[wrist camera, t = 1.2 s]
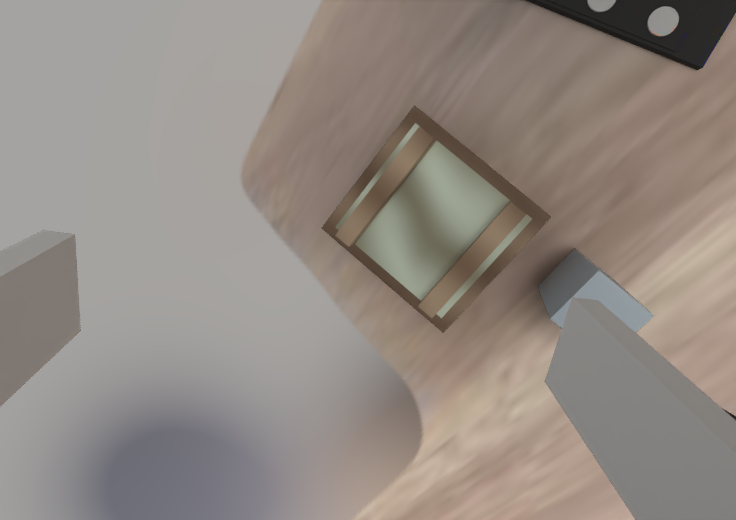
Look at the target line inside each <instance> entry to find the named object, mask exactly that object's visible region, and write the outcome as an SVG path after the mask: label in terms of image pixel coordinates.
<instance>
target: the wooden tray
mask: <svg viewBox="0 0 736 520" xmlns="http://www.w3.org/2000/svg"><path fill="white" fill-rule="evenodd" d="M550 218H551V216H550V215H548V214H547V213H546V212H545V211H543V210H542V209H541V208H540V207H539V206H537V205H536V204H535V203H534V202H532V201H531V200H530V199H529V198H527V197H526V196H525V195H524V194H523V193H521V192H520V191H519V190H518V189H516V188H515V187H514V186H513V185H512V184H510V183H509V182H508V181H507V180H505V179H504V178H503V177H502V176H500V175H499V174H498V173H497V172H496V171H494V170H493V169H492V168H491V167H489V166H488V165H487V164H486V163H485V162H483V161H482V160H481V159H480V158H478V157H477V156H476V155H475V154H473V153H472V152H471V151H470V150H469V149H467V148H466V147H465V146H464V145H462V144H461V143H460V142H459V141H458V140H456V139H455V138H454V137H453V136H451V135H450V134H449V133H448V132H446V131H445V130H444V129H443V128H442V127H440V126H439V125H438V124H437V123H435V122H434V121H433V120H432V119H431V118H429V117H428V116H427V115H426V114H424V113H423V112H422V111H421V110H419V109H418V108H417V107H416V106H415V105H414V107H413V108H412V109H411V111H410V112H409V113H408V115H407V116H406V117H405V119H404V120H403V121H402V123H401V124H400V125H399V127H398V128H397V129H396V130H395V132H394V133H393V134H392V136H391V137H390V138H389V140H388V141H387V142H386V144H385V145H384V146H383V148H382V149H381V150H380V152H379V153H378V154H377V156H376V157H375V158H374V159H373V161H372V162H371V163H370V165H369V166H368V167H367V169H366V170H365V171H364V173H363V174H362V175H361V177H360V178H359V179H358V181H357V182H356V183H355V185H354V186H353V187H352V188H351V190H350V191H349V192H348V194H347V195H346V196H345V198H344V199H343V200H342V202H341V203H340V204H339V206H338V207H337V208H336V210H335V211H334V212H333V214H332V215H331V216H330V217H329V219H328V220H327V221H326V223H325V224H324V225H323V227H322V229H323V230H324V231H325V232H327V233H328V234H329V235H330V236H331V237H332V238H334V239H335V240H336V241H337V242H338V243H339V244H341V245H342V246H343V247H344V248H345V249H346V250H348V251H349V252H350V253H351V254H352V255H353V256H354V257H356V258H357V259H358V260H359V261H360V262H361V263H363V264H364V265H365V266H366V267H367V268H368V269H370V270H371V271H372V272H373V273H374V274H375V275H377V276H378V277H379V278H380V279H381V280H382V281H384V282H385V283H386V284H387V285H388V286H389V287H391V288H392V289H393V290H394V291H395V292H396V293H398V294H399V295H400V296H401V297H402V298H403V299H404V300H406V301H407V302H408V303H409V304H410V305H411V306H413V307H414V308H415V309H416V310H417V311H418V312H420V313H421V314H422V315H423V316H424V317H425V318H427V319H428V320H429V321H430V322H431V323H432V324H434V325H435V326H436V327H437V328H438V329H439V330H441V331H442V332H443V333H444V332H445V330H446V329H447V328H448V327H449V326H450V325H451V324H452V323H453V322H454V321H455V320H456V319H457V318H458V316H459V315H460V314H461V313H462V312H463V311H464V310H465V309H466V308H467V307H468V306H469V305H470V304H471V302H472V301H473V300H474V299H475V298H476V297H477V296H478V295H479V294H480V293H481V292H482V291H483V290H484V289H485V287H486V286H487V285H488V284H489V283H490V282H491V281H492V280H493V279H494V278H495V277H496V276H497V275H498V273H499V272H500V271H501V270H502V269H503V268H504V267H505V266H506V265H507V264H508V263H509V262H510V261H511V259H512V258H513V257H514V256H515V255H516V254H517V253H518V252H519V251H520V250H521V249H522V248H523V247H524V246H525V244H526V243H527V242H528V241H529V240H530V239H531V238H532V237H533V236H534V235H535V234H536V233H537V232H538V230H539V229H540V228H541V227H542V226H543V225H544V224H545V223H546V222H547V221H548V220H549V219H550Z"/></svg>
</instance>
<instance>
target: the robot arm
mask: <svg viewBox="0 0 736 520" xmlns="http://www.w3.org/2000/svg"><path fill="white" fill-rule="evenodd" d="M80 331H81V330H80V312H79V295H78V278H77V260H76V242H75V234H69V233H61V232H53V231H46V230H43V231H40V232H38V233H36V234H34V235H32V236H30V237H28V238H26V239H24V240H22V241H20V242H18V243H16V244H14V245H12V246H10V247H8V248H6V249H4V250H2V251H0V406H2V405H3V404H4V403H5V402H6V401H7V400H8V399H9V398H10V397H11V396H12V395H13V394H14V393H15V392H16V391H17V390H18V389H20V388H21V387H22V386H23V385H24V384H25V383H26V382H27V381H28V380H29V379H30V378H31V377H32V376H33V375H34V374H35V373H36V372H38V371H39V370H40V369H41V368H42V367H43V366H44V365H45V364H46V363H47V362H48V361H49V360H50V359H51V358H52V357H53V356H55V354H56V353H58V352H59V351H60V350H61V349H62V348H63V347H64V346H65V345H66V344H67V343H68V342H69V341H70V340H71V339H73V338H74V337H75V336H76V335H77V334H78V333H79V332H80ZM545 383H546V384H547V386H548V387H549V389H550V390H551V392H552V393H553V395H554V396H555V398H556V399H557V401H558V402H559V404H560V406H561V407H562V409H563V410H564V412H565V413H566V415H567V416H568V418H569V419H570V421H571V422H572V424H573V425H574V427H575V428H576V430H577V431H578V433H579V434H580V436H581V437H582V439H583V441H584V442H585V444H586V445H587V447H588V448H589V450H590V451H591V453H592V454H593V456H594V457H595V459H596V460H597V462H598V463H599V465H600V466H601V468H602V469H603V471H604V473H605V474H606V476H607V477H608V479H609V480H610V482H611V483H612V485H613V486H614V488H615V489H616V491H617V492H618V494H619V495H620V497H621V498H622V500H623V501H624V503H625V504H626V506H627V508H628V509H629V511H630V512H631V514H632V515H633V517H634V518H635V520H736V416H734V415H732V414H731V413H729V412H727V411H726V410H724V409H723V408H721V407H720V406H719V405H717V404H716V403H715V402H714V401H713V400H712V399H711V398H709V397H708V396H707V395H706V394H705V393H704V392H703V391H701V390H700V389H699V388H698V387H697V386H696V385H695V384H693V383H692V382H691V381H690V380H689V379H688V378H687V377H685V376H684V375H683V374H682V373H681V372H680V371H679V370H677V369H676V368H675V367H674V366H673V365H672V364H671V363H669V362H668V361H667V360H666V359H665V358H664V357H663V356H661V355H660V354H659V353H658V352H657V351H656V350H655V349H653V348H652V347H651V346H650V345H649V344H648V343H647V342H645V341H644V340H643V339H642V338H641V337H640V336H639V335H637V334H636V333H635V332H634V331H633V330H632V329H631V328H629V327H628V326H627V325H626V324H625V323H624V322H623V321H621V320H620V319H619V318H618V317H617V316H616V315H615V314H613V313H612V312H611V311H610V310H609V309H608V308H607V307H605V306H604V305H603V304H602V303H601V302H600V301H599V300H591V299H583V298H575V297H572V300H571V303H570V306H569V309H568V312H567V315H566V318H565V321H564V324H563V327H562V330H561V333H560V337H559V340H558V343H557V346H556V349H555V352H554V355H553V358H552V361H551V364H550V367H549V370H548V374H547V377H546V380H545Z"/></svg>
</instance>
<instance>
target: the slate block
mask: <svg viewBox="0 0 736 520" xmlns="http://www.w3.org/2000/svg"><path fill="white" fill-rule="evenodd" d="M538 289H539V292H540V294H541V297H542V299H543V302H544V305H545V307H546V310H547V312H548V315H549V318H550V319H551V320H552V321H553V322H554V323H555V324H557V325H558V326H559V327H560V328H561V329H562V327H563V324H564V321H565V318H566V315H567V312H568V309H569V306H570V303H571V300H572V297H575V298H583V299H591V300H599V301H600V302H601V303H602V304H603V305H604V306H605V307H607V308H608V309H609V310H610V311H611V312H612V313H613V314H615V315H616V316H617V317H618V318H619V319H620V320H621V321H623V322H624V323H625V324H626V325H627V326H628V327H629V328H631V329H632V330H633V331H634V332H635V333H636V332H637V331H638V330H639V329H640V328H641V327H642V326H643V325H645V324H646V323H647V322H648V321H649V320H650V319H651V318H652V317H653V316H654V315H653V314H652V313H651V312H650V311H648V310H647V309H646V308H645V307H644V306H643V305H642V304H641V303H639V302H638V301H637V300H636V299H635V298H634V297H633V296H631V295H630V294H629V293H628V292H627V291H626V290H625V289H624V288H622V287H621V286H620V285H619V284H618V283H617V282H616V281H614V280H613V279H612V278H611V277H609V276H608V275H607V274H606V273H605V272H603V271H602V270H601V269H600V268H598V267H597V266H596V265H595V264H594V263H592V262H591V261H590V260H589V259H587V258H586V257H585V256H584V255H583V254H581V253H580V252H579V251H578V250H576V249H574V250H573V251H572V252H571V253H570V254H569V255H568V256H567V257H566V258H565V259H564V260H563V261H562V262H561V263H560V264H559V265H558V266H557V267H556V268H555V269H554V270H553V271H552V272H551V273H550V274H549V275H548V276H547V277H546V278H545V279H544V280H543V281H542V282H541V284H540V285H539V286H538Z"/></svg>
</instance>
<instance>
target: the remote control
mask: <svg viewBox="0 0 736 520" xmlns="http://www.w3.org/2000/svg"><path fill="white" fill-rule="evenodd" d="M527 1H529V2H532V3H534V4H536V5H539V6H541V7H544V8H546V9H549V10H551V11H554V12H556V13H559V14H561V15H563V16H566V17H568V18H571V19H573V20H576V21H578V22H581V23H583V24H586V25H588V26H591V27H593V28H595V29H598V30H600V31H603V32H605V33H608V34H610V35H613V36H615V37H618V38H620V39H622V40H625V41H627V42H630V43H632V44H635V45H637V46H640V47H642V48H645V49H647V50H650V51H652V52H654V53H657V54H659V55H662V56H664V57H667V58H669V59H672V60H674V61H677V62H679V63H681V64H684V65H686V66H689V67H691V68H694V69H696V70H699V69H701V68H703V66H704V64H705V63H706V61H707V59H708V58H709V56H710V54H711V53H712V51H713V49H714V48H715V46H716V44H717V43H718V41H719V40H720V38H721V36H722V35H723V33H724V31H725V30H726V28H727V26H728V25H729V23H730V21H731V20H732V18H733V16H734V15H735V13H736V0H527Z"/></svg>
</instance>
